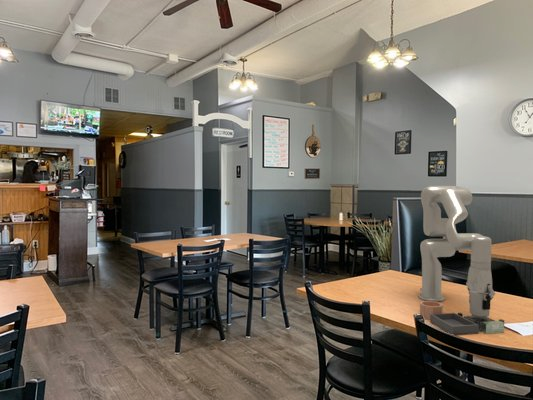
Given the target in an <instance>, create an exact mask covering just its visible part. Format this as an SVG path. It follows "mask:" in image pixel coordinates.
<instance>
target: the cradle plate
mask: <svg viewBox="0 0 533 400" xmlns="http://www.w3.org/2000/svg"><path fill="white" fill-rule="evenodd" d="M463 317H464V318H466V319H468V320H470V321H472V322H474V323H475V321H479V322H480V328H482V322H489V321H496V320H494V319H493V318H491V317H489V316H487V317H486V318H479V317H475V316H472V315H471V314H470V315H463Z"/></svg>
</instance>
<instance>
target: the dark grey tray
mask: <svg viewBox="0 0 533 400" xmlns="http://www.w3.org/2000/svg"><path fill="white" fill-rule="evenodd" d="M429 322H430V323H431V324H432V325H434V326H435V327H438V328H439V329H441V330H443V331H444V332H446V333H448V332H449V333H451V334H454V335H453V336H463V335H477V334H479V333H480V332H479V325H478V324H476V323H474V322H472V321H470V320H468V319H466V318H464V316H463V317H462V316H460V315H458V313H455V312H446V313H445V312H443V314H430V320H429ZM449 333H448V334H449ZM451 334H450V335H451Z"/></svg>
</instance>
